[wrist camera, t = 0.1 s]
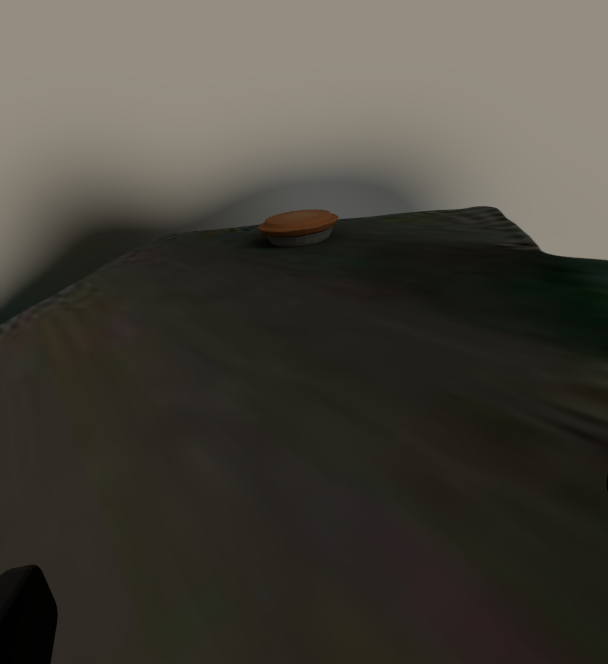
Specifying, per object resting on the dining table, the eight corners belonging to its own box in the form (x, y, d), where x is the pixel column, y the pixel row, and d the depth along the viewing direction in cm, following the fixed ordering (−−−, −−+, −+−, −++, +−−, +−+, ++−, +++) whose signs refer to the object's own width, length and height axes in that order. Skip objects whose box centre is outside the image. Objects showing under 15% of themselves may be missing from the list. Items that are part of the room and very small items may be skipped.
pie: (341, 227, 105) (339, 202, 103) (338, 246, 91) (335, 218, 89) (268, 234, 107) (264, 210, 105) (254, 254, 93) (249, 226, 91)
